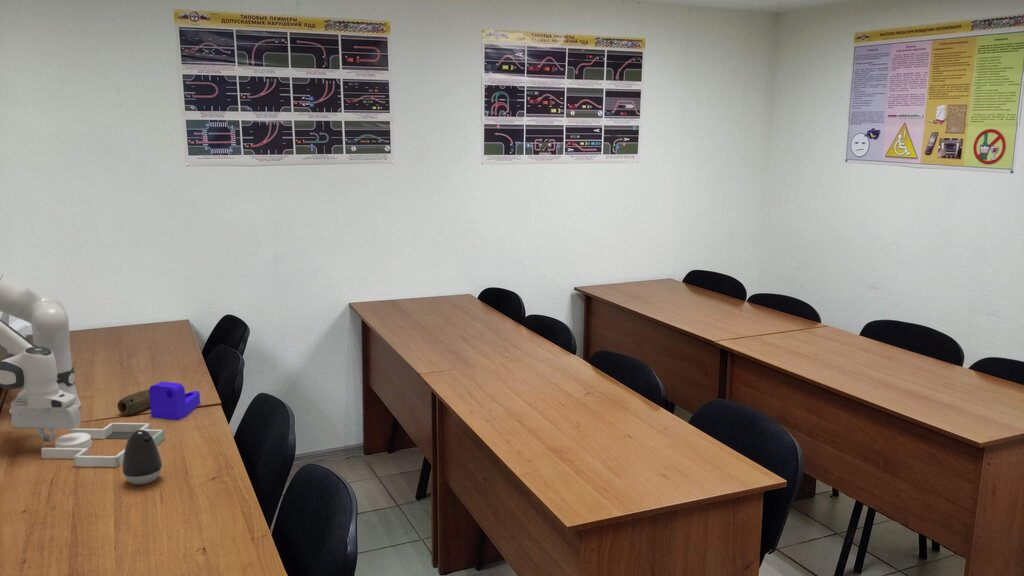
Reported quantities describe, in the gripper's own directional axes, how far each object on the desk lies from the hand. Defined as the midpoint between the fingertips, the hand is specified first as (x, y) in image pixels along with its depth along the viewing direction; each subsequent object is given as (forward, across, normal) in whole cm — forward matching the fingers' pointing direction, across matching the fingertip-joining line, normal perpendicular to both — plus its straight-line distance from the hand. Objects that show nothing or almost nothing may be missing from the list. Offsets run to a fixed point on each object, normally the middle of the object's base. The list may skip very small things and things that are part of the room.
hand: (48, 441), depth 253 cm
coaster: (+3, +8, 0) cm, 8 cm away
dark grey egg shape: (+2, +41, -23) cm, 47 cm away
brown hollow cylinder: (+2, +12, +35) cm, 37 cm away
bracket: (+2, +27, +35) cm, 44 cm away
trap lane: (+2, +18, 0) cm, 18 cm away
